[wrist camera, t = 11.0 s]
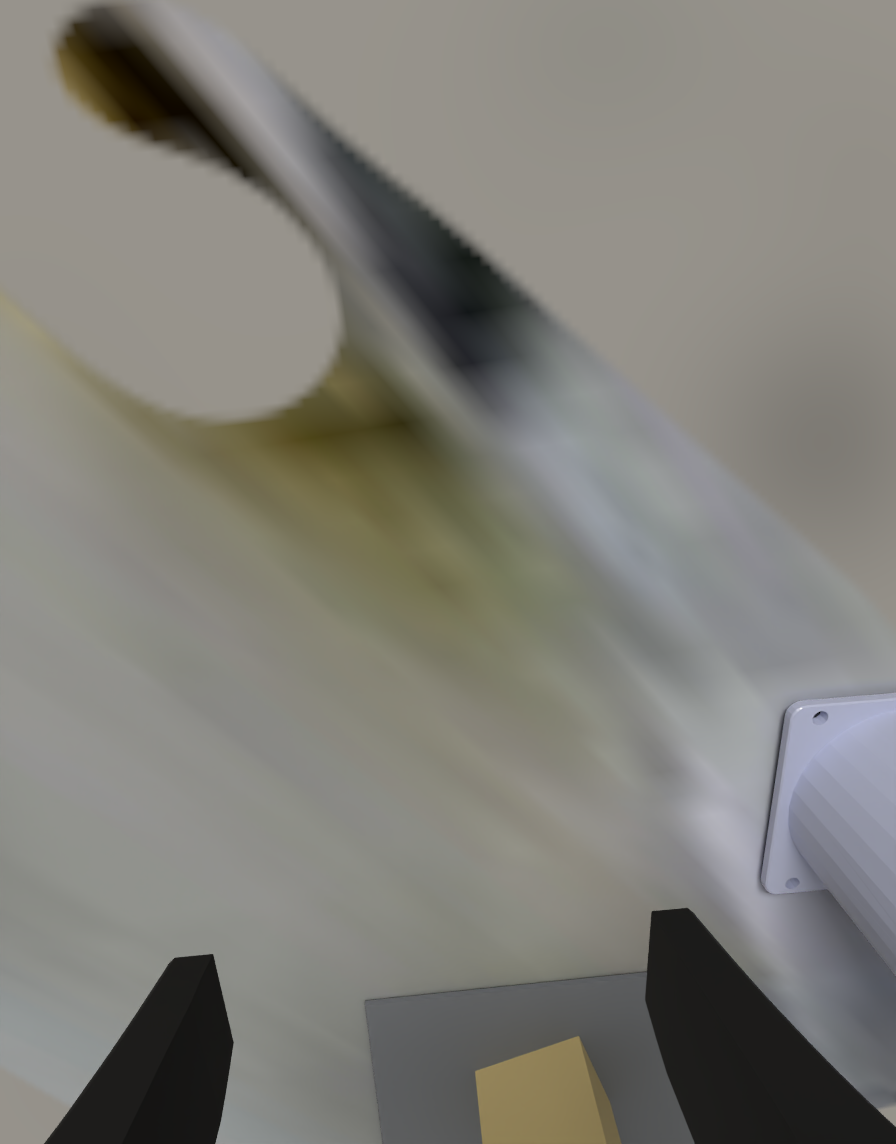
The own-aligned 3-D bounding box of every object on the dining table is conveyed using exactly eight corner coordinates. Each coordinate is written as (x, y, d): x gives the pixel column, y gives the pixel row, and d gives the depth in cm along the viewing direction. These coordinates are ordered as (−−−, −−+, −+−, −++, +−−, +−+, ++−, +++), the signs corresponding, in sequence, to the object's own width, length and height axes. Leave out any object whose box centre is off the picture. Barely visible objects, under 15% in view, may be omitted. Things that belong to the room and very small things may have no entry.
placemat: (719, 964, 26) (722, 968, 26) (695, 1156, 30) (697, 1161, 30) (365, 1000, 25) (365, 1005, 25) (389, 1192, 29) (389, 1197, 29)
